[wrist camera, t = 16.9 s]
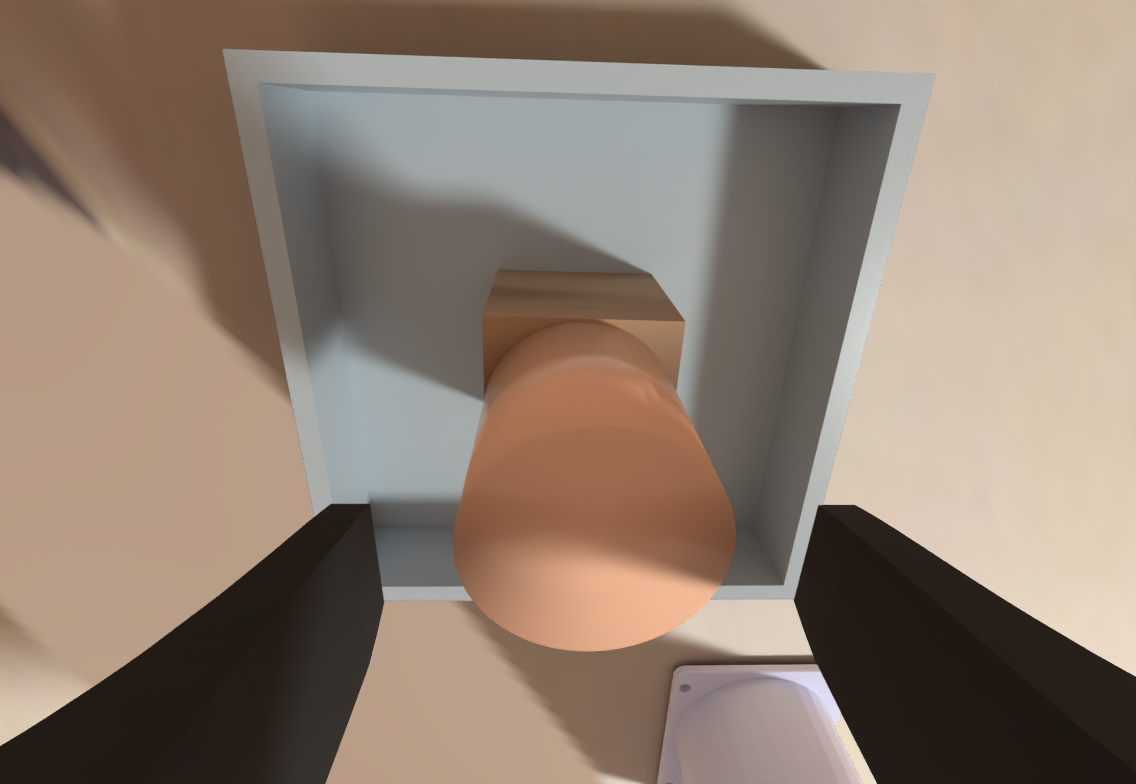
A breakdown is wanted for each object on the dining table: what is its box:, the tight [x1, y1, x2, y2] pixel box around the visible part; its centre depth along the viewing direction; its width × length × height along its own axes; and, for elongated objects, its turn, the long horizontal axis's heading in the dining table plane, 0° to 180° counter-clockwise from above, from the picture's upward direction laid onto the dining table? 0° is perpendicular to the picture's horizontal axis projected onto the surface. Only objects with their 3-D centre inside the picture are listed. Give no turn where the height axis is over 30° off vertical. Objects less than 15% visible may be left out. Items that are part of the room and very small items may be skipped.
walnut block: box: [482, 270, 686, 397], centre depth 16 cm, size 5×5×5 cm
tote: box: [222, 49, 936, 601], centre depth 17 cm, size 15×15×4 cm
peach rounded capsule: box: [453, 321, 736, 652], centre depth 12 cm, size 5×5×5 cm
